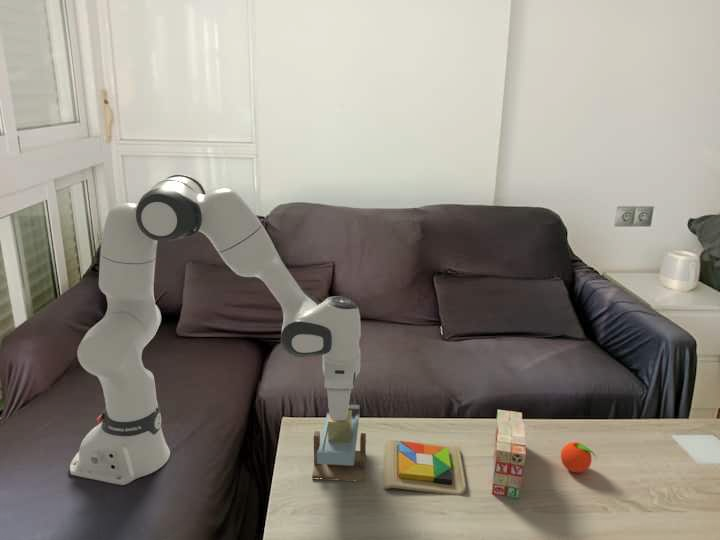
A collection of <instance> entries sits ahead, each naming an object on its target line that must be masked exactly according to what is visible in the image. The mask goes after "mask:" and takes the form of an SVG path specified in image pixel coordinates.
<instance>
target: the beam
mask: <svg viewBox="0 0 720 540" xmlns="http://www.w3.org/2000/svg"><path fill="white" fill-rule="evenodd" d="M326 408H327V409H326V410H327V411H326V417H325V421H324V425H323V429H322V433H321V436H320V446H319V450H317V464H333V465H354V458H355V451H357V450H356V449H357V439H358V434H359V433H358V431H359V424H360V404H349V407H348V410H352V426H351V436H350V443H349V442H328V420H329V416H330V414H329V405H328V404H327V407H326Z"/></svg>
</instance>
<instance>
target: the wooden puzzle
mask: <svg viewBox="0 0 720 540" xmlns="http://www.w3.org/2000/svg"><path fill="white" fill-rule="evenodd" d="M384 446H385V455H384V454H383V474H384V477H383V478H382V479H383V482H382V484H383V485H382V487H384V488H385V490H387V489H400V490H408V491H416V492H426V493H431V494H432V493H433V494H440V495H455V496H456V495H457V496H459V495H460V496H462V495H463V494H465V492H466V489H467V484H466V483H467V482H466V478H465V473H464V466H463V460H462V456H461V455H462V454H461V449H460V445H458V444H454V445H451V446H449V445H441V444H432V443H423V442H415V441H408V440H400V439H389V440H387V441H386V442H385V443H384ZM384 456H385V457H384ZM384 488H383V489H384Z"/></svg>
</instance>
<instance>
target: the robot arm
mask: <svg viewBox="0 0 720 540" xmlns="http://www.w3.org/2000/svg"><path fill="white" fill-rule="evenodd" d="M198 232H199V233H202V234H203V235H205V237H206V238H207V239H208V240H209V241H210V243H211V244H212V246H213V247H214V249H215V250H216V251H217V253H218V255H219V256H220V258H221V259H222V261H224V263H225V264H226V265H227V266H228V267H229V268H230V270H231V271H232V272H234V273H235V274H236V275H237V276H240V277H243V278H244V277H245V278H253V277H254V278H258V279H259V280H261V281H262V282H263V283H264V284H265V285H266V287H267V288H268V290H269V291H270V293H271V294H272V295H273V297H274V298H275V299H276V300H277V302H278V304H280V307H281V310H282V316H283V317H282V318H283V322H282V327H281V332H280V333H281V334H280V343H281V345H282V347H283V349H284V351H285V352H286V353H288V354H289V355H290V356H293V357H296V358H310V357H318V356H322V359H321V360H322V361H321V362H322V373H323V376H324V377H323V378H324V380H323V381H324V388H325V389H327V391H326V393H327V406H328V405H329V414H330V418H331V420H334V421H345V420H346V419H347V414H348V407H349V405H350V400H351V393H352V390H353V389H354V386H355V381H356V379H357V377H358V375H359V374H360V372H361V348H360V339H361V336H362V335H361V334H362V333H361V332H362V331H361V329H362V328H361V327H362V326H361V314H360V310H359V307H358V305H357V304H356V302H355V301H353V300H352V299H350V298H348V297H345V296H342V295H334V296H328V297H327V298H325V300H323V301H322V302H320V301H319V300H318V299H316V297H314V296H312V295H310V294H309V293H307V292H306V291H305V289H303V288H302V286H301V285H300V284H299V282H297V280H296V279H295V277H294V275H293V274H292V273H291V271H290V270H289V269H288V267H287V265H285V263H284V262H283V260H282V258H281V257H280V255H279V252H278V250H277V249H276V247H275V244H274V243H273V241H272V239H271V237H270V235H269V234H268V232H267V230H266V229H265V226H264V225H263V223H262V222H261V221H260V219H259V218H258V216H257V215H256V214H255V212H254V211H253V210H252V208H251V207H250V206H249V205H248V203H247V202H246V200H244V199H243V198H242V197H241V196H240V195H239V194H238V193H237V192H236V191H234V190H233V189H231V188H219V189H215V190H212V191H210V192H209V193H206V191H205V189H204V187H203V185H202V183H201V182H199V181H198V180H197V179H195V178H194V177H192V176H190V175H187V174H173V175H171V176H168V177H166V178H165V179H163V180H161V181H159V182H157V183H156V184H155V185H153V186H152V187H151V188H150V189H149V191H147V192H146V193H144V194H143V195H142V196H141V198H140V199H139V201H138V203H135V202H124V203H120V204H117V205H114V206H113V207H111V209H110V210H109V211H108V214H107V215H106V220H105V222H104V226H103V231H102V236H101V237H102V238H101V243H100V245H101V246H100V258H99V271H98V287H99V290H100V291H101V292H102V293H103V294H104V295H105V297H106V301H107V309H106V312H105V315H104V316H103V317H102V319H101V320H99V321H98V322H96V324H95V325H93V326H92V327H91V328H90V329H89V330H88V331H87V332H86V334H84V336H83V338H82V340H81V342H80V343H79V344H78V348H77V352H76V353H77V359H78V362H79V364H80V366H81V367H82V368H83V369H84V370H85V371H86V372H87V373H90V374H91V375H93V376H96V377H97V379H98V380H99V382H100V384H101V387H102V390H103V391H102V392H103V397H104V403H105V408H104V409H103V410H102V411H101V412H100V415H99V416H98V417H97V419H96V422H97V423H96V424H97V425H96V426H95V427H93V428H92V429H91V430H90V431H89V432H88V433H87V434H86V435H85V437H84V438H83V440H82V441H81V443H80V446H79V451H78V452H77V453H76V454H75V455H74V457H73V458H72V460H71V463H70V465H69V474H70V475H72V476H75V477H76V476H77V477H80V478H84V479H89V480H95V481H99V482H105V483H109V484H113V485H119V486H125V485H128V484H130V483H132V482H133V481H134V480H136V479H139V478H141V477H145V476H149V475H150V474H152V473H154V472H156V471H158V470H159V469H160V468H162V467H163V466H165V464H166V463H167V462H168V460H169V458H170V456H171V450H170V448H169V446H168V445H167V442H166V439H165V437H164V434H163V430H162V429H163V428H162V416H161V409H160V404H159V402H158V400H157V391H156V383H155V377H154V374H153V372H152V371H150V370H148V368H145V366H144V363H143V360H142V355H143V350H144V348H145V347H146V346H147V345H148V344H149V342H151V340H153V338H155V335H156V333H157V332H158V329H159V327H160V325H161V323H162V315H161V310H160V307H158V305H157V304H156V300H155V293H154V292H155V291H154V287H155V286H154V282H155V270H156V261H157V248H158V242H170V241H176V240H179V239H183V238H189V237H193V236H196V235H197V234H198Z"/></svg>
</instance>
